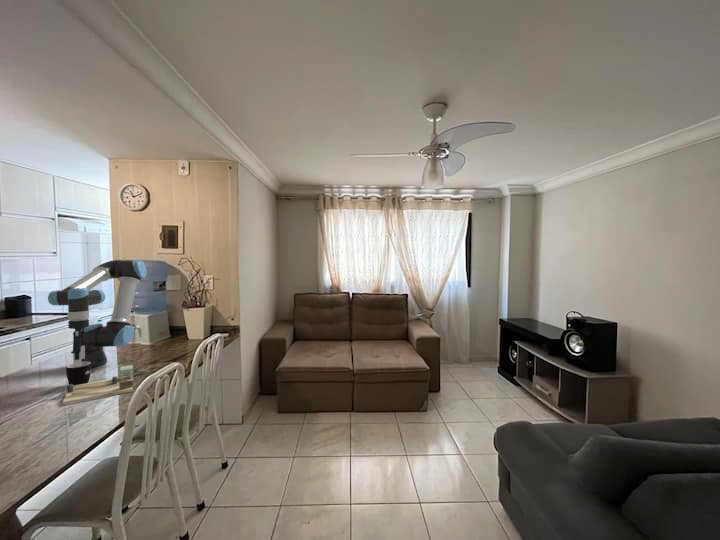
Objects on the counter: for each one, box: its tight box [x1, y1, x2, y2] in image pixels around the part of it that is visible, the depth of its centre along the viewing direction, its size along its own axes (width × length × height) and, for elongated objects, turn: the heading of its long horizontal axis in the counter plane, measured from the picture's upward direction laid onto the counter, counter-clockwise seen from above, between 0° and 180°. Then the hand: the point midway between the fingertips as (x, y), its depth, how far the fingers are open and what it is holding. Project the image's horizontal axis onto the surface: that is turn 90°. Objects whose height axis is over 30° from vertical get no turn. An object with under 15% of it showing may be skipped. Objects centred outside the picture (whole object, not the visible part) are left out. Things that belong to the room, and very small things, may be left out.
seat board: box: [62, 375, 134, 406], centre depth 147 cm, size 20×24×4 cm
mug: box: [65, 362, 92, 386], centre depth 154 cm, size 12×9×10 cm
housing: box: [119, 364, 134, 381], centre depth 158 cm, size 6×5×5 cm
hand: (79, 362), depth 154 cm, fingers open, 13 cm apart
